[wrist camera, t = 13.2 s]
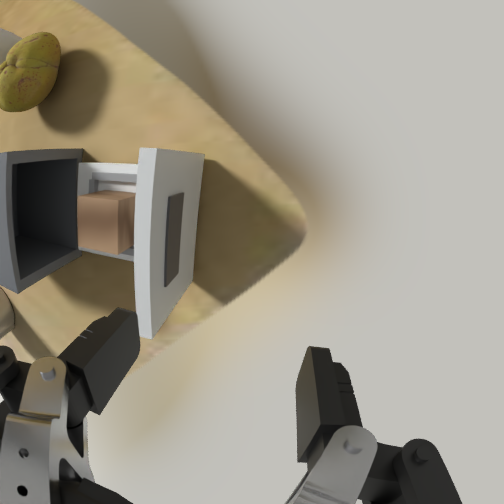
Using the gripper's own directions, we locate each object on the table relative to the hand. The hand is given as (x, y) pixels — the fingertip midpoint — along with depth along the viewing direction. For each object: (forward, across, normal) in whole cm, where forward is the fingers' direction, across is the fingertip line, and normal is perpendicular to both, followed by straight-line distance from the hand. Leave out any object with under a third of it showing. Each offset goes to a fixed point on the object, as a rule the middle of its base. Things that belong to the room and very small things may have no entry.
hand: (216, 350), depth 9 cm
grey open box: (+20, +30, 0) cm, 36 cm away
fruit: (+20, +32, -18) cm, 42 cm away
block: (+18, +14, 0) cm, 23 cm away
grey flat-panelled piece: (+19, +14, 0) cm, 23 cm away
